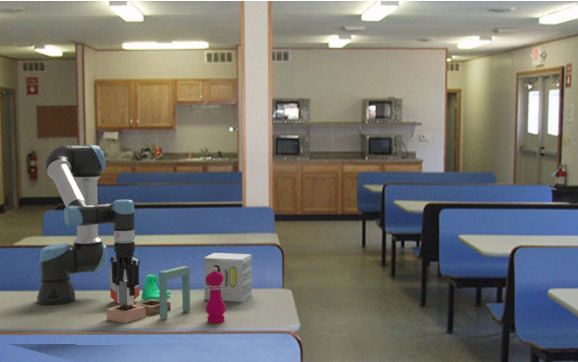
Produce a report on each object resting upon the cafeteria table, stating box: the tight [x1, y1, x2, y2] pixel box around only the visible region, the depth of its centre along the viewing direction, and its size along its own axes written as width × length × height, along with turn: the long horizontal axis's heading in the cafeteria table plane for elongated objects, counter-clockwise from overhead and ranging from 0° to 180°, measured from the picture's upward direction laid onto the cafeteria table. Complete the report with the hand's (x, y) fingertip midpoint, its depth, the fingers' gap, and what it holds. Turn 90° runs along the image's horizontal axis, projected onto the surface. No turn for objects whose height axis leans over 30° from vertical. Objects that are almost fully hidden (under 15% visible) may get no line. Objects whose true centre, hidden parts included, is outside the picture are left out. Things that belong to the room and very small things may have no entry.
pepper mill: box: [205, 267, 227, 324], centre depth 247 cm, size 7×7×20 cm
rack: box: [106, 304, 147, 324], centre depth 252 cm, size 10×10×4 cm
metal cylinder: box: [119, 279, 132, 311], centre depth 252 cm, size 4×4×14 cm
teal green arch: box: [158, 265, 191, 320], centre depth 256 cm, size 3×14×17 cm, turn 146°
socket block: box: [133, 299, 172, 316], centre depth 263 cm, size 10×10×3 cm
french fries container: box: [109, 264, 140, 304], centre depth 278 cm, size 5×11×18 cm, turn 82°
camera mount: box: [141, 274, 172, 301], centre depth 283 cm, size 12×8×10 cm, turn 163°
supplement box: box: [203, 252, 253, 303], centre depth 283 cm, size 17×13×18 cm
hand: (125, 303), depth 252 cm, fingers closed on metal cylinder, 4 cm apart
